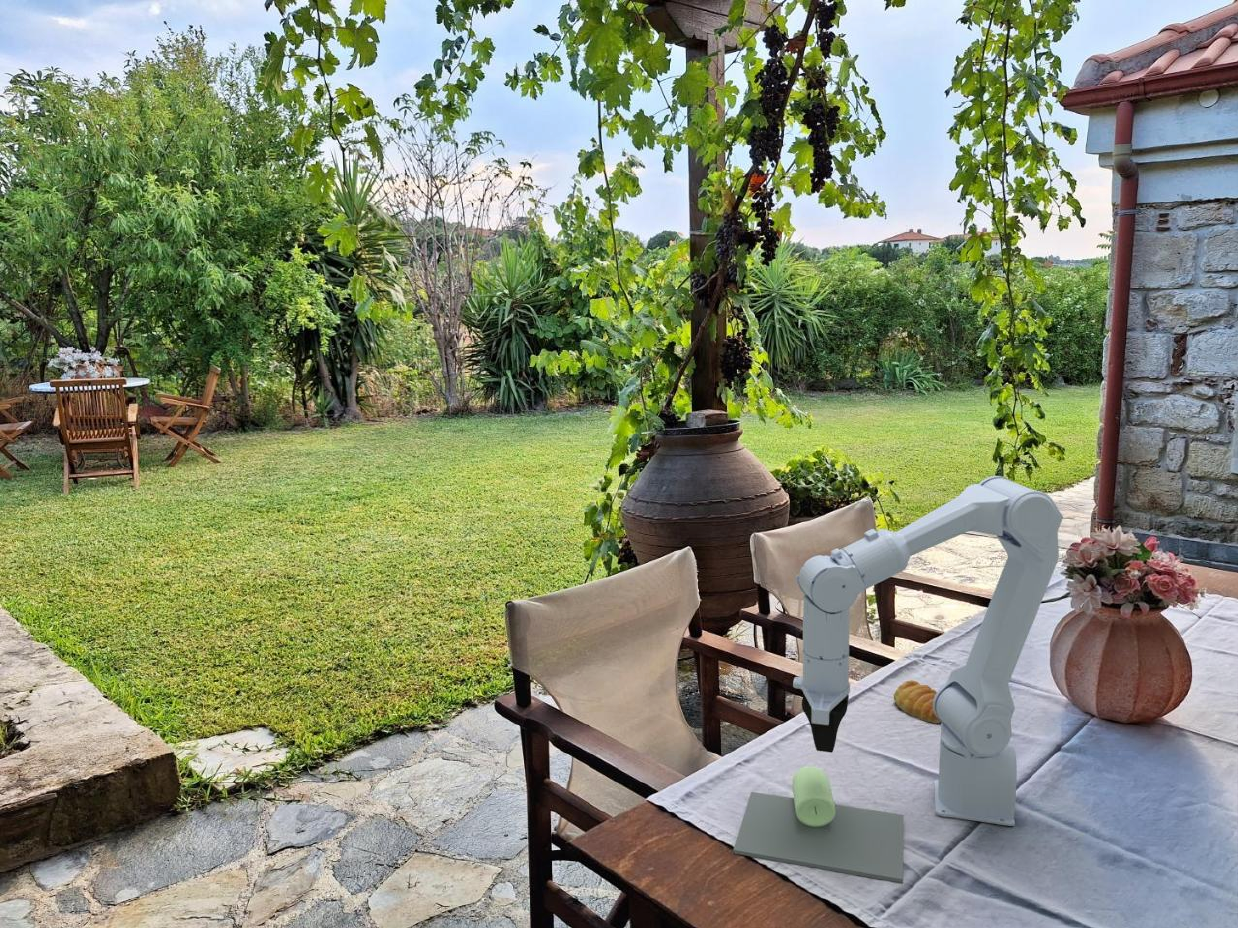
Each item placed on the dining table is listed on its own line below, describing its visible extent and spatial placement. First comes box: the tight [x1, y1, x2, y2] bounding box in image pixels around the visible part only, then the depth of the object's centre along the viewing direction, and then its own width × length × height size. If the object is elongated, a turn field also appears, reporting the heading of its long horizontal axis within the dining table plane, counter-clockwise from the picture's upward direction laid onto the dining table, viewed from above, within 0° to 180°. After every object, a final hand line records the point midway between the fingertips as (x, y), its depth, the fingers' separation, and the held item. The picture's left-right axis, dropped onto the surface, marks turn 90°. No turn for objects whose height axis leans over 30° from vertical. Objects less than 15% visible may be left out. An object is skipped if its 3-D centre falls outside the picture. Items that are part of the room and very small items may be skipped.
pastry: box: [893, 680, 942, 724], centre depth 139 cm, size 9×7×4 cm
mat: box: [733, 791, 905, 884], centre depth 109 cm, size 20×13×1 cm, turn 72°
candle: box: [792, 765, 836, 827], centre depth 112 cm, size 5×5×8 cm
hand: (824, 748), depth 111 cm, fingers closed
